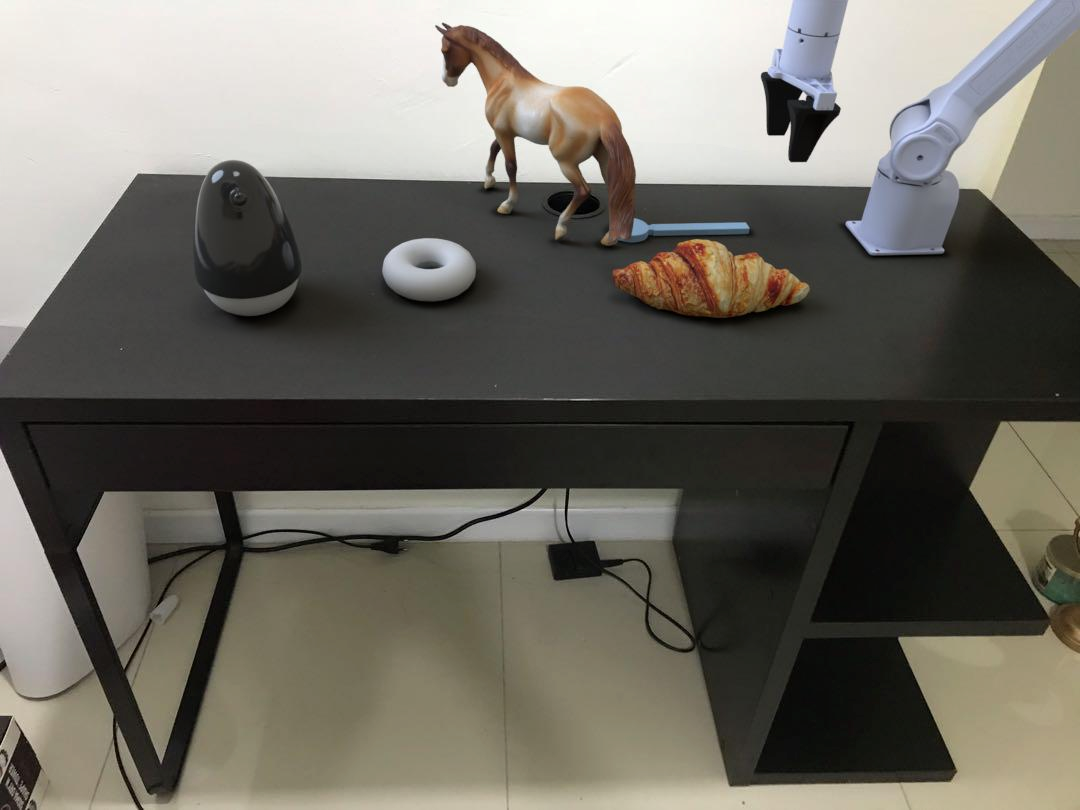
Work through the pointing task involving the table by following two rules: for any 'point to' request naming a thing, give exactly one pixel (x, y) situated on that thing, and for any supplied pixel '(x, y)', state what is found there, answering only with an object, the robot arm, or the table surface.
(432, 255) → the donut
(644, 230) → the spoon
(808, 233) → the table surface
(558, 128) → the horse figurine
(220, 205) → the pump dispenser
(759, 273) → the croissant
